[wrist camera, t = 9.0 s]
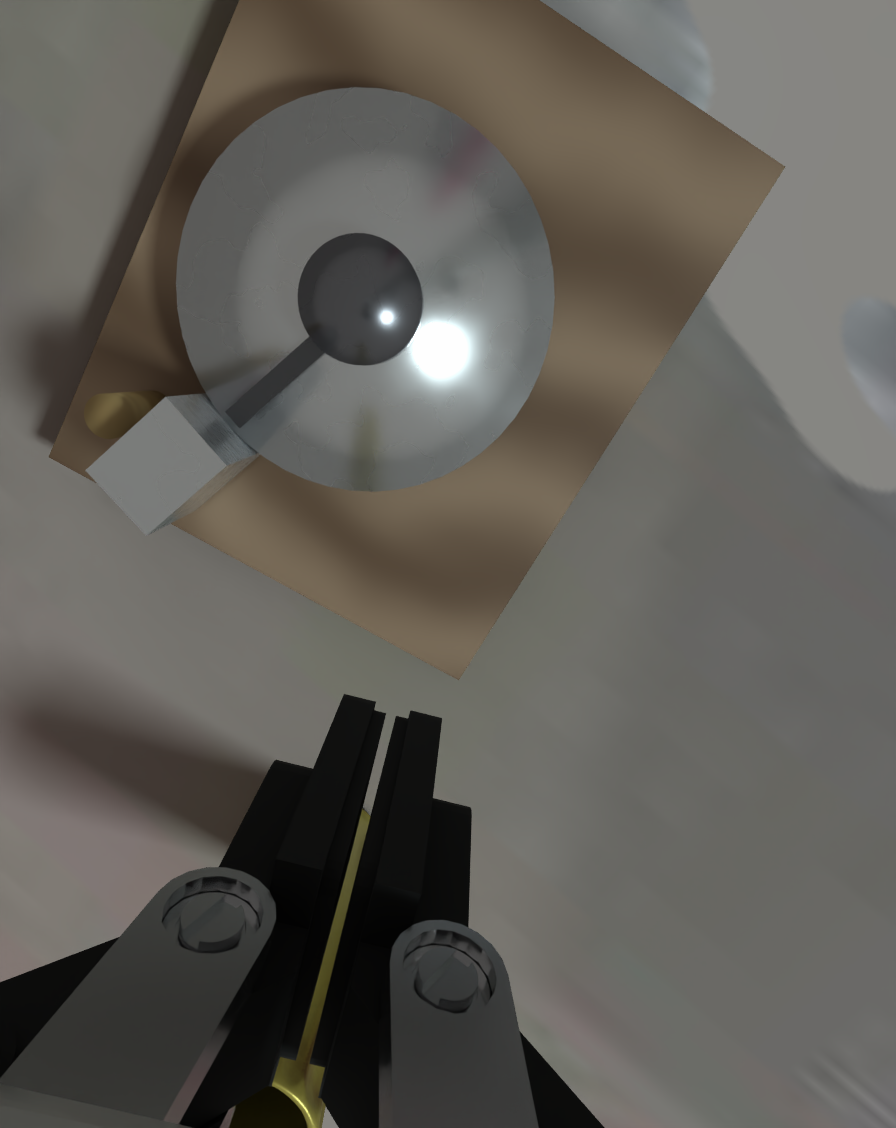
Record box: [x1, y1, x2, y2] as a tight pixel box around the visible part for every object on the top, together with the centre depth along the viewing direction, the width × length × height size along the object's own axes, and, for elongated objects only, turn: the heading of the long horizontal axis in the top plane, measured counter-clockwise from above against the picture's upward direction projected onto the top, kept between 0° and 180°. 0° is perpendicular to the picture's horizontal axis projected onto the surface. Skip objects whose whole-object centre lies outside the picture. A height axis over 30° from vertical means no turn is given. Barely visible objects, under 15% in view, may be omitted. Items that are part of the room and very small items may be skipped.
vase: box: [229, 809, 370, 1128], centre depth 29 cm, size 6×6×14 cm
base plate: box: [49, 0, 785, 680], centre depth 27 cm, size 24×20×6 cm
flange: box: [85, 87, 555, 536], centre depth 25 cm, size 18×14×5 cm
